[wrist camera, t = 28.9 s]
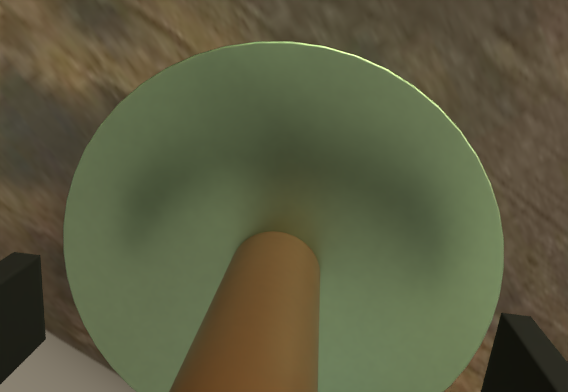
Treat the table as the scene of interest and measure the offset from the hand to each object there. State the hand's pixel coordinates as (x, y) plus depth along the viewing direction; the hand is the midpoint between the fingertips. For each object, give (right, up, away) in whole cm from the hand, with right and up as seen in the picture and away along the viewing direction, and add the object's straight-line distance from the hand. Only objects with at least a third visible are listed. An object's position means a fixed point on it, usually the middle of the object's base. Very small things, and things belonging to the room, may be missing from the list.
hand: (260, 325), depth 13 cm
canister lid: (0, +1, +4) cm, 4 cm away
